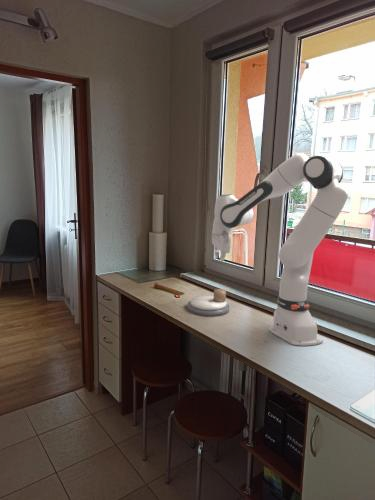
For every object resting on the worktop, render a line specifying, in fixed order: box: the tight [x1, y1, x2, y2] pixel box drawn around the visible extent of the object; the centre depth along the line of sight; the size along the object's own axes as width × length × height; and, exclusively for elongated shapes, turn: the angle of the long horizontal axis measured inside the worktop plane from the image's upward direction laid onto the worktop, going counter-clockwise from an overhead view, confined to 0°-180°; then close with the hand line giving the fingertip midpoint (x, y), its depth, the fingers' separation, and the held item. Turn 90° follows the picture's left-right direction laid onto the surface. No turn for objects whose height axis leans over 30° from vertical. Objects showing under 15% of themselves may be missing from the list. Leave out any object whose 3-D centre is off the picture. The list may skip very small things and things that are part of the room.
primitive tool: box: [153, 282, 186, 297], centre depth 202 cm, size 19×6×4 cm, turn 58°
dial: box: [190, 288, 227, 311], centre depth 176 cm, size 17×17×6 cm
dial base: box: [187, 300, 230, 317], centre depth 177 cm, size 20×20×2 cm
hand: (219, 258), depth 175 cm, fingers open, 8 cm apart
